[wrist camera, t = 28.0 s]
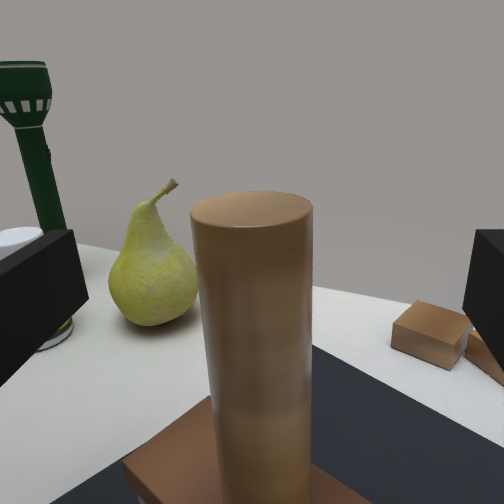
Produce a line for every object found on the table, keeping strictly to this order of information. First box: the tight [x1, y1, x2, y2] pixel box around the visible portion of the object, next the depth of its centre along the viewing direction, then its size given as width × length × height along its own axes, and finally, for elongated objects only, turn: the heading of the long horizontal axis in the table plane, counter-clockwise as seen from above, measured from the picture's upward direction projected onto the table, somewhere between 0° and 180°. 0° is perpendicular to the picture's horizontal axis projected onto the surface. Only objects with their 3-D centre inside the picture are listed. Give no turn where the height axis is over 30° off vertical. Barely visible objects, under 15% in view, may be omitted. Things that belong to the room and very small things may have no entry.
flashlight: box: [0, 61, 67, 234], centre depth 38 cm, size 5×5×20 cm
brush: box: [122, 191, 372, 504], centre depth 12 cm, size 10×4×14 cm, turn 48°
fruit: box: [108, 179, 198, 326], centre depth 31 cm, size 7×8×12 cm
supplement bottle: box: [0, 227, 73, 351], centre depth 30 cm, size 5×5×8 cm
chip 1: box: [391, 300, 474, 370], centre depth 28 cm, size 4×4×2 cm
